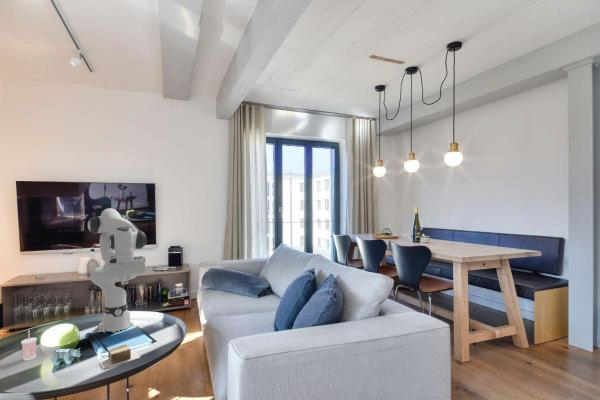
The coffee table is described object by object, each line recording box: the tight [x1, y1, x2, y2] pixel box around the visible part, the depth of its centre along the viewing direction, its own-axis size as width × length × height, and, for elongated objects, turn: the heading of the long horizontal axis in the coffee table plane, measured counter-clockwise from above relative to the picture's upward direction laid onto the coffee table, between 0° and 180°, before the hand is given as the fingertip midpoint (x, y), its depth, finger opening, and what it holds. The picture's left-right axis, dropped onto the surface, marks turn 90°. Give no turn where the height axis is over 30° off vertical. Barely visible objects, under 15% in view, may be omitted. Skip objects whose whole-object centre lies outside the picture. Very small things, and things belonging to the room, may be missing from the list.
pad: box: [98, 350, 141, 370], centre depth 158 cm, size 9×16×1 cm, turn 131°
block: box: [107, 343, 131, 364], centre depth 159 cm, size 4×8×8 cm
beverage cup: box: [20, 329, 38, 361], centre depth 162 cm, size 6×6×14 cm
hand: (124, 284), depth 173 cm, fingers closed
